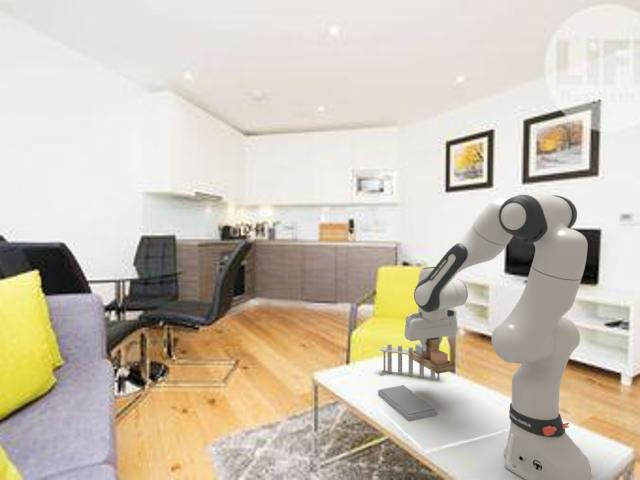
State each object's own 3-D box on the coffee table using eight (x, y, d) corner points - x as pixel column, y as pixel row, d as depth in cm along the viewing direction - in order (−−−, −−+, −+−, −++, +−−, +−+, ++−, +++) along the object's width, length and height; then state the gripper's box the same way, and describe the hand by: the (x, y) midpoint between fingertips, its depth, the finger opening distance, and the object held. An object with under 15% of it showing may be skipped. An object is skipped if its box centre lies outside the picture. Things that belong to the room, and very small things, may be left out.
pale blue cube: (430, 356, 138) (430, 346, 138) (421, 358, 137) (421, 347, 137) (424, 353, 142) (424, 342, 142) (415, 354, 140) (415, 344, 140)
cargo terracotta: (447, 365, 130) (447, 353, 130) (438, 367, 128) (438, 355, 128) (440, 361, 133) (440, 350, 133) (430, 363, 132) (430, 351, 132)
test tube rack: (442, 381, 153) (442, 349, 153) (441, 385, 149) (441, 352, 149) (382, 371, 164) (382, 341, 163) (379, 375, 160) (379, 344, 159)
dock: (437, 417, 125) (437, 408, 125) (408, 424, 121) (408, 414, 121) (403, 392, 144) (403, 384, 143) (378, 397, 140) (378, 389, 140)
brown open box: (454, 370, 129) (454, 343, 129) (437, 373, 126) (437, 345, 126) (425, 355, 144) (425, 330, 143) (409, 358, 141) (409, 333, 141)
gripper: (411, 316, 128) (411, 356, 128) (460, 310, 135) (459, 349, 135) (400, 312, 134) (401, 350, 134) (448, 307, 141) (448, 343, 141)
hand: (431, 349), depth 135 cm, fingers closed on brown open box, 3 cm apart
